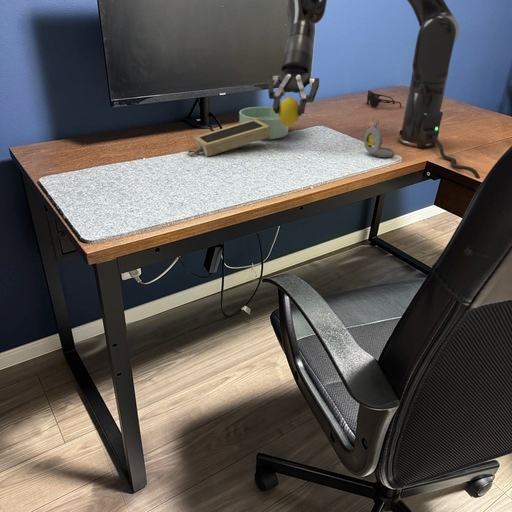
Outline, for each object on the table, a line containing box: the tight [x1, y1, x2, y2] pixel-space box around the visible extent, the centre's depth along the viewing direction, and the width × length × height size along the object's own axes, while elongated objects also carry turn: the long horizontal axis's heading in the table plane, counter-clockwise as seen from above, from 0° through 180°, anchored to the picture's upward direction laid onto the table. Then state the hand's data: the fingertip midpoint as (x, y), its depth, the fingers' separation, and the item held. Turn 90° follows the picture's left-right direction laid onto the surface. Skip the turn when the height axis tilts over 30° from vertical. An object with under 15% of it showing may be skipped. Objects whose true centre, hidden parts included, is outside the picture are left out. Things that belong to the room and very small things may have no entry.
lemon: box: [278, 96, 300, 128], centre depth 128 cm, size 6×6×8 cm
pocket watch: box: [363, 117, 395, 158], centre depth 127 cm, size 8×8×10 cm
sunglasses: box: [366, 90, 402, 109], centre depth 178 cm, size 10×12×5 cm
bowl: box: [238, 106, 289, 141], centre depth 141 cm, size 14×14×6 cm
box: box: [187, 119, 270, 157], centre depth 128 cm, size 8×22×5 cm, turn 119°
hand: (288, 113), depth 126 cm, fingers closed on lemon, 5 cm apart
